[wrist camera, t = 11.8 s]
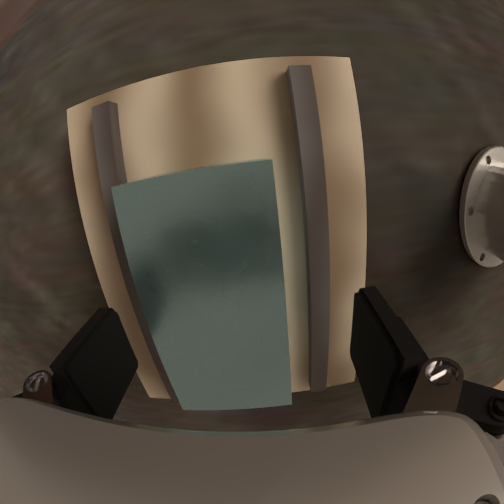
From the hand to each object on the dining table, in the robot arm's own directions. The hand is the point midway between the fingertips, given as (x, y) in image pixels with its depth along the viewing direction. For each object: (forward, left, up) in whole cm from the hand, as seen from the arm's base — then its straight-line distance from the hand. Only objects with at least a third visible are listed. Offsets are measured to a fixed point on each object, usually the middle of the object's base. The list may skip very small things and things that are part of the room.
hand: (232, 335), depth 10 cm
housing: (+1, 0, -7) cm, 7 cm away
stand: (+1, 0, -11) cm, 11 cm away
